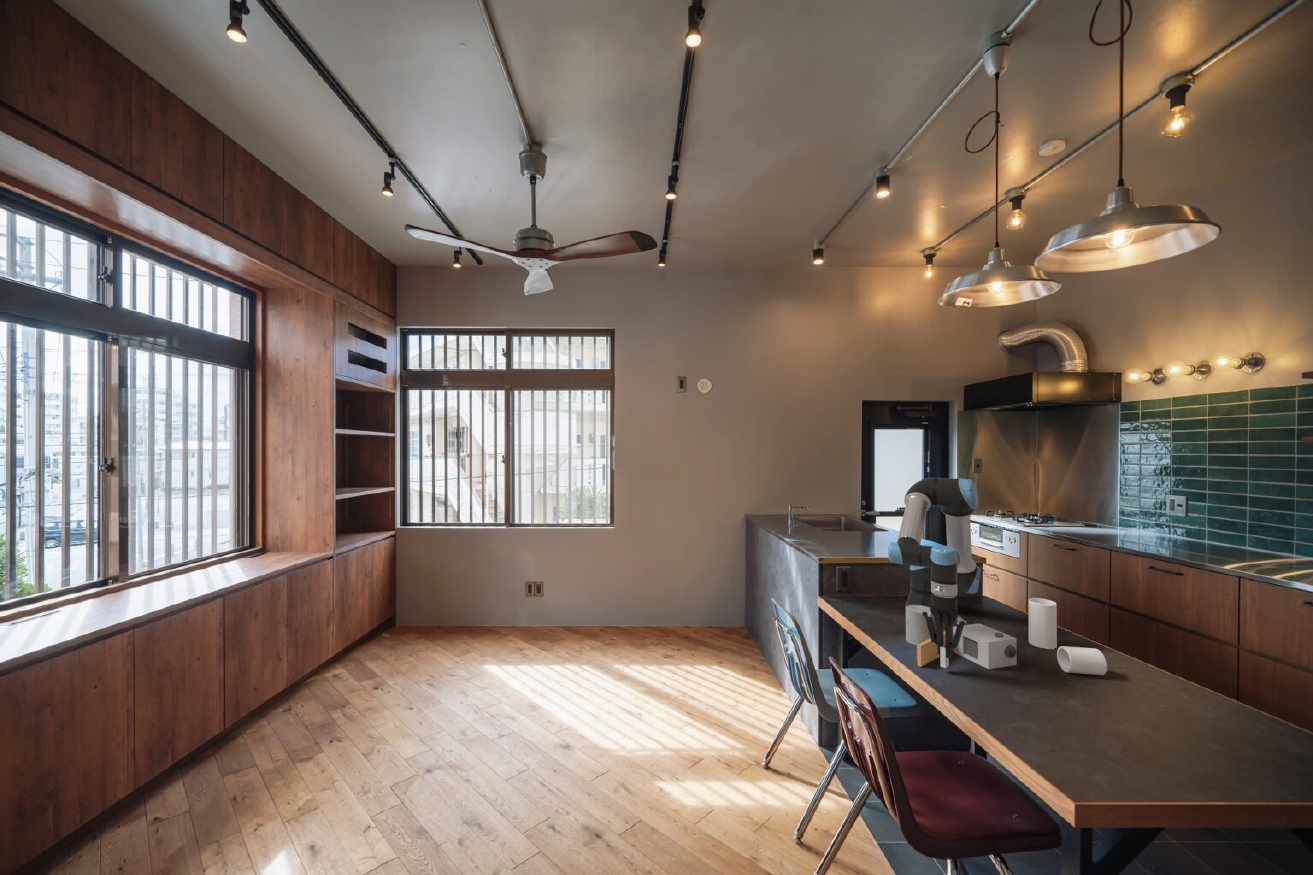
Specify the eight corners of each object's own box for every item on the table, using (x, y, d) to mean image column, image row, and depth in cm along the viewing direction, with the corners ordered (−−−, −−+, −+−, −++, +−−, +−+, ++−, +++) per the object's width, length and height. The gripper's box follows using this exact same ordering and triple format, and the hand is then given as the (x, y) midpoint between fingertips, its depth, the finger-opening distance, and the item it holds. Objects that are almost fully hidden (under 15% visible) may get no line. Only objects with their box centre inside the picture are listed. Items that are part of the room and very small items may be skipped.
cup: (1057, 651, 178) (1057, 606, 178) (1028, 645, 182) (1028, 602, 182) (1056, 643, 184) (1056, 600, 184) (1028, 638, 189) (1028, 596, 189)
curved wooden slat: (945, 648, 180) (945, 628, 180) (951, 650, 178) (951, 630, 178) (915, 664, 167) (915, 643, 167) (921, 667, 165) (921, 645, 165)
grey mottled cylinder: (927, 636, 191) (927, 604, 191) (938, 647, 182) (938, 613, 182) (901, 635, 192) (901, 604, 192) (911, 646, 182) (911, 612, 182)
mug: (1107, 679, 157) (1107, 654, 157) (1071, 676, 159) (1071, 652, 159) (1083, 662, 168) (1082, 639, 168) (1049, 660, 170) (1049, 637, 170)
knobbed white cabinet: (953, 651, 177) (953, 624, 177) (979, 647, 181) (979, 621, 181) (991, 670, 163) (991, 640, 163) (1019, 665, 166) (1019, 636, 166)
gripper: (918, 592, 165) (918, 662, 165) (962, 602, 155) (962, 677, 155) (927, 587, 170) (928, 656, 170) (970, 597, 160) (971, 669, 160)
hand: (944, 666), depth 162 cm, fingers closed
